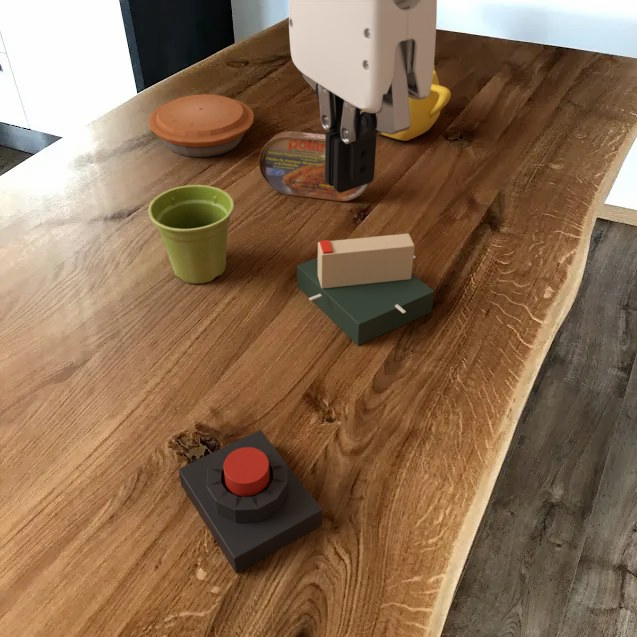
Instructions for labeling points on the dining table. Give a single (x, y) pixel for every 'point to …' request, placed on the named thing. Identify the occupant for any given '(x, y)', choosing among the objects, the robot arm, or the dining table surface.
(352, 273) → the beige rectangular block
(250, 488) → the button
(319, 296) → the dial base
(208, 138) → the pie
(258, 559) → the control block
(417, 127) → the teapot
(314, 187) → the tin
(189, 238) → the plant pot
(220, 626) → the dining table surface
